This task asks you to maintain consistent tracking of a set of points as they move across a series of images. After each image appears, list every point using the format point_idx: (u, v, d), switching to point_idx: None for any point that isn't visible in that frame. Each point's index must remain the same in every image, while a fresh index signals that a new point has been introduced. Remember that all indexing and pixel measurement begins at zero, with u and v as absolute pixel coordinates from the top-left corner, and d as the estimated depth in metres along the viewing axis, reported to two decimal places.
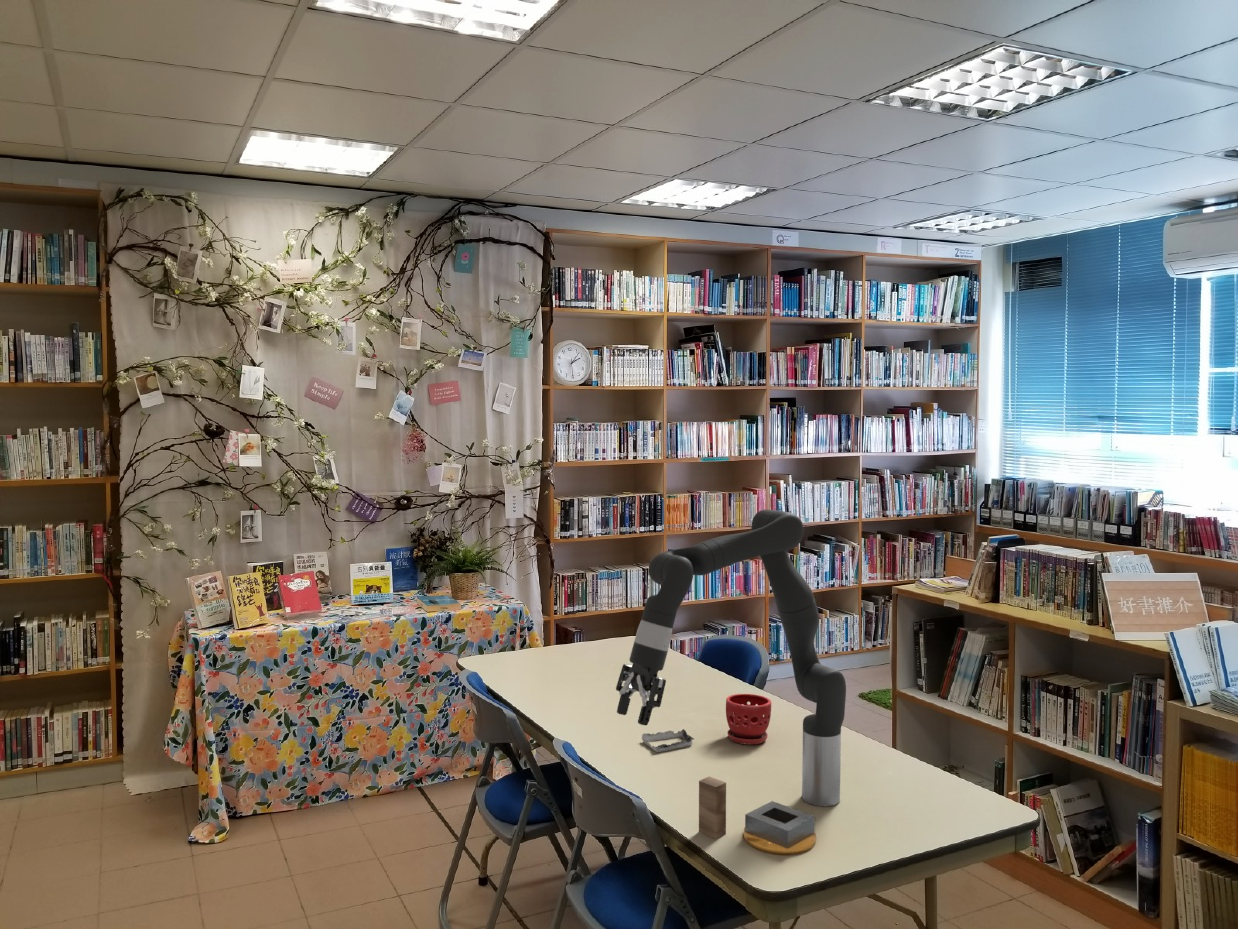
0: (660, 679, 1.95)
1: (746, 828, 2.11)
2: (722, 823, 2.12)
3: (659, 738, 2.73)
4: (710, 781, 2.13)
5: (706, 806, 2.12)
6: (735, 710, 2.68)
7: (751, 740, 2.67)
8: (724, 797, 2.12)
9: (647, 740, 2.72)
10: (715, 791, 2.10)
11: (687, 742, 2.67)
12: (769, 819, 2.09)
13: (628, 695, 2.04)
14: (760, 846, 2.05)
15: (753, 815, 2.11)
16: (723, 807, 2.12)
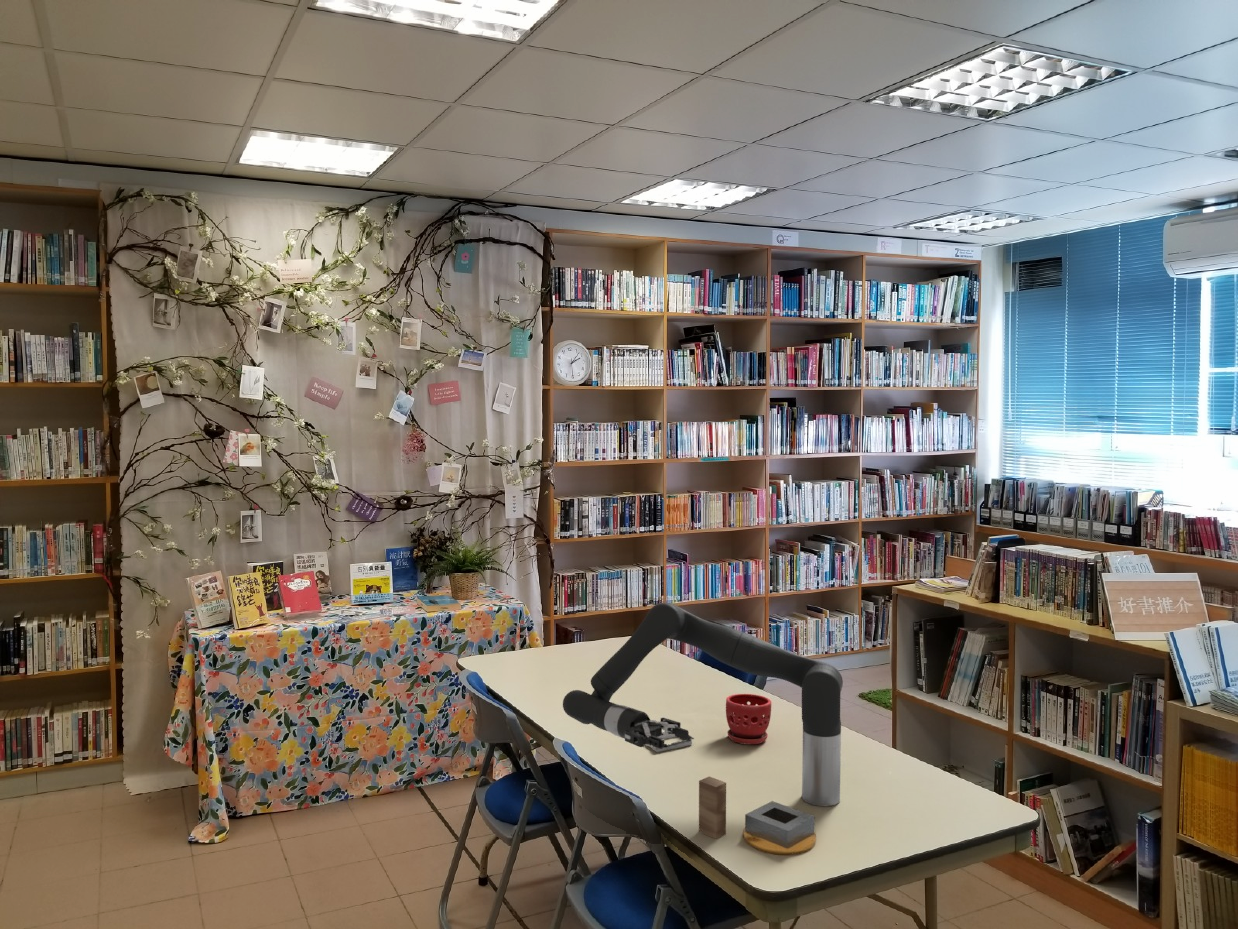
0: (624, 736, 2.23)
1: (746, 828, 2.11)
2: (722, 823, 2.12)
3: None
4: (710, 781, 2.13)
5: (706, 806, 2.12)
6: (735, 710, 2.68)
7: (751, 740, 2.67)
8: (724, 797, 2.12)
9: None
10: (715, 791, 2.10)
11: (687, 742, 2.68)
12: (769, 819, 2.09)
13: (673, 729, 2.26)
14: (760, 846, 2.05)
15: (753, 815, 2.11)
16: (723, 807, 2.12)
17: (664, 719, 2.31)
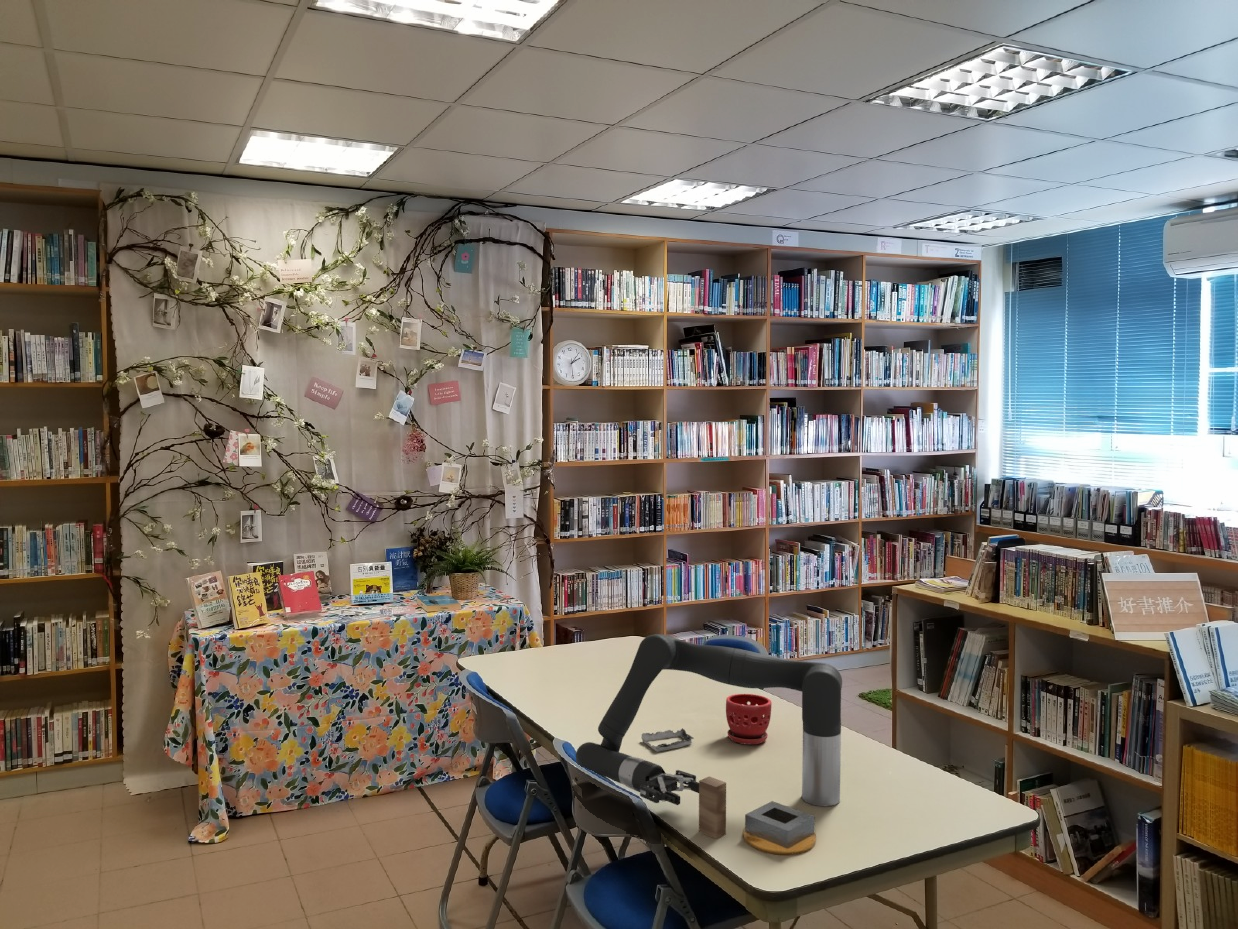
0: (640, 791, 2.20)
1: (746, 828, 2.11)
2: (722, 823, 2.12)
3: (659, 737, 2.73)
4: (710, 781, 2.13)
5: (706, 806, 2.12)
6: (735, 710, 2.68)
7: (751, 740, 2.67)
8: (724, 797, 2.12)
9: (647, 740, 2.72)
10: (715, 791, 2.10)
11: (687, 741, 2.68)
12: (769, 819, 2.09)
13: (689, 783, 2.24)
14: (760, 846, 2.05)
15: (753, 815, 2.11)
16: (723, 807, 2.12)
17: (679, 772, 2.28)
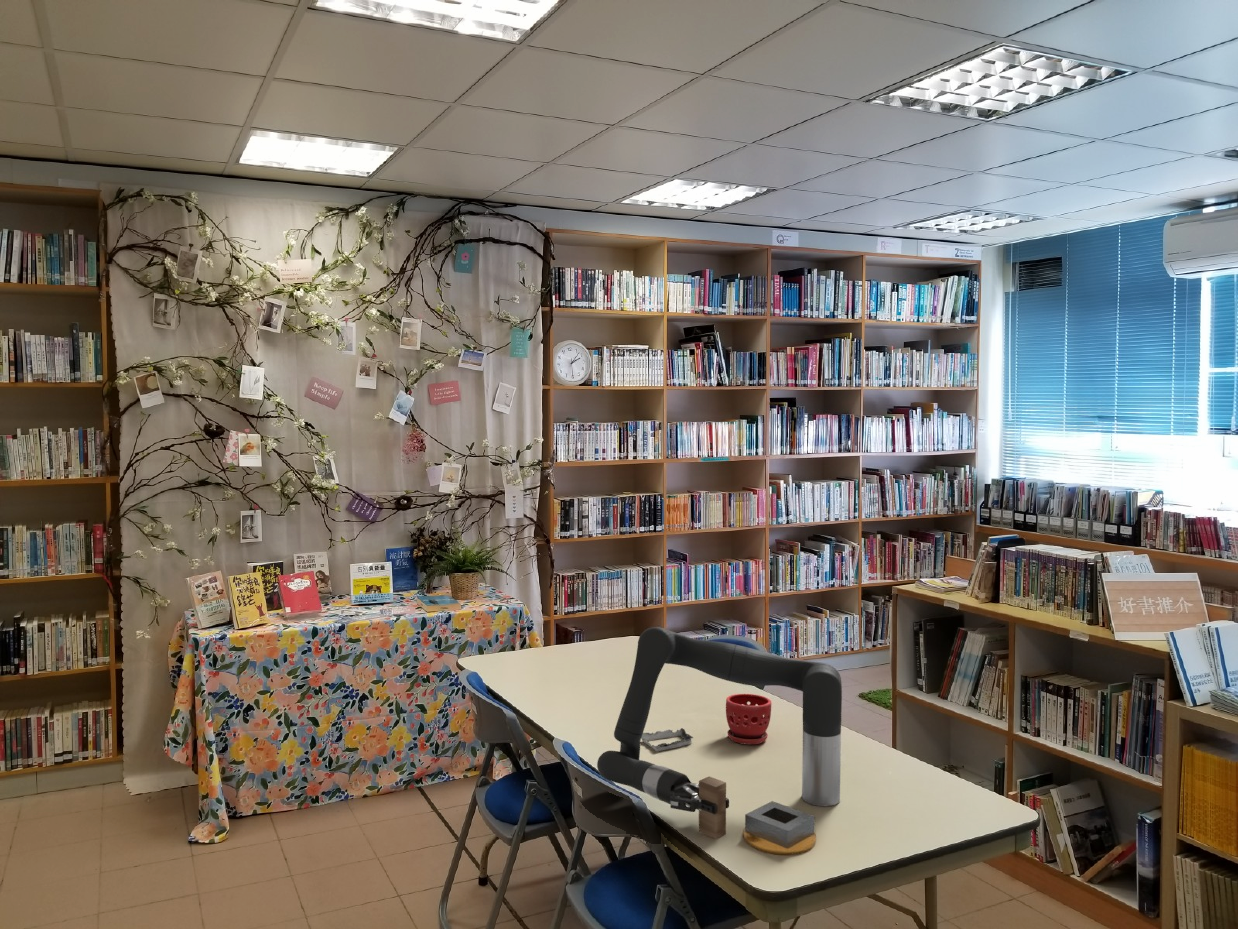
0: (670, 803, 2.13)
1: (746, 828, 2.11)
2: (721, 823, 2.12)
3: (658, 737, 2.74)
4: (710, 781, 2.13)
5: None
6: (735, 710, 2.68)
7: (751, 740, 2.67)
8: (724, 797, 2.12)
9: (646, 739, 2.72)
10: (715, 791, 2.10)
11: (686, 741, 2.68)
12: (769, 819, 2.09)
13: None
14: (760, 846, 2.05)
15: (753, 815, 2.11)
16: (723, 807, 2.12)
17: None
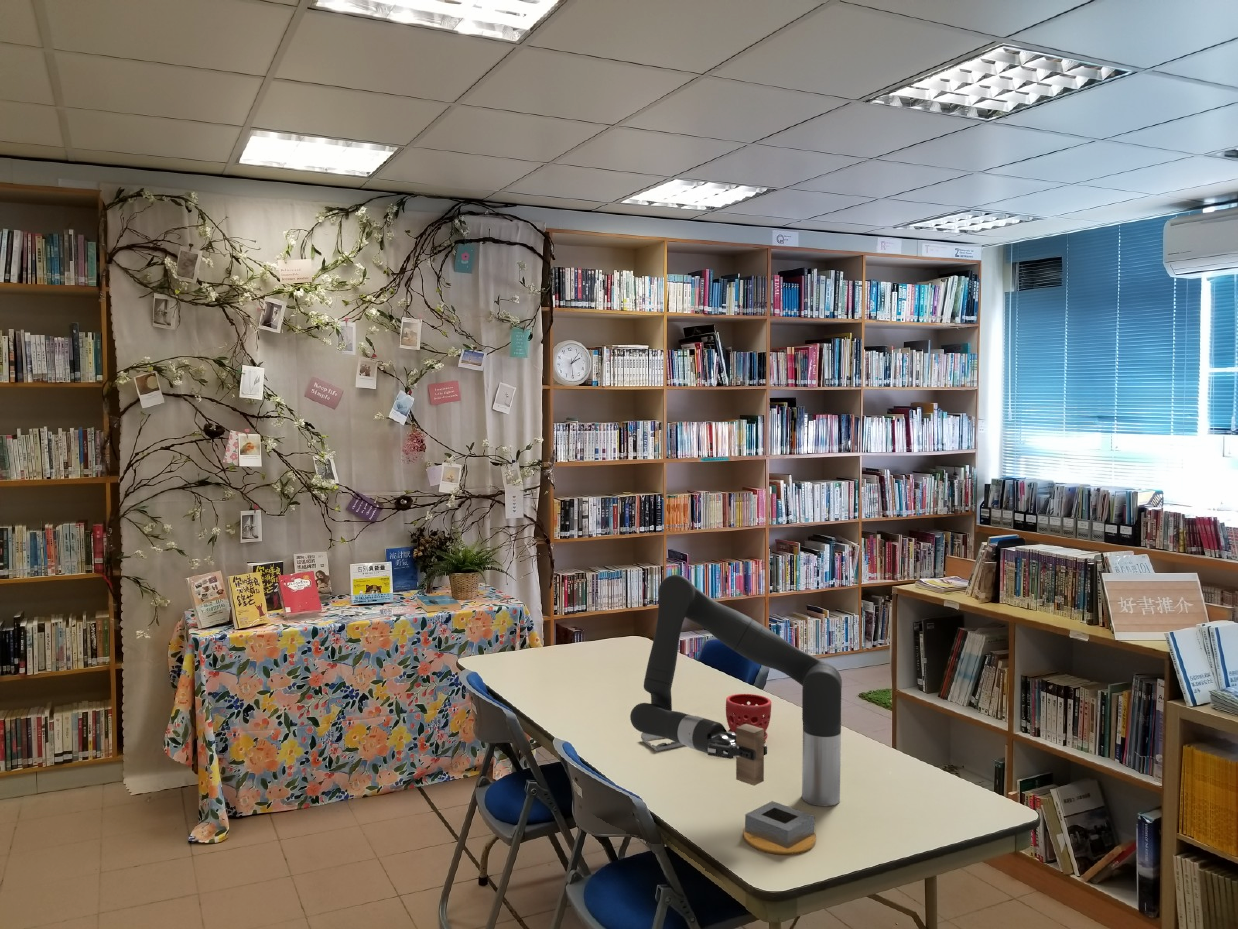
0: (708, 750, 2.11)
1: (746, 828, 2.11)
2: (760, 770, 2.10)
3: (658, 737, 2.74)
4: (748, 728, 2.11)
5: None
6: (735, 710, 2.68)
7: None
8: (762, 743, 2.10)
9: (646, 739, 2.72)
10: (753, 737, 2.08)
11: None
12: (769, 819, 2.09)
13: None
14: (760, 846, 2.05)
15: (753, 815, 2.11)
16: (761, 754, 2.10)
17: None
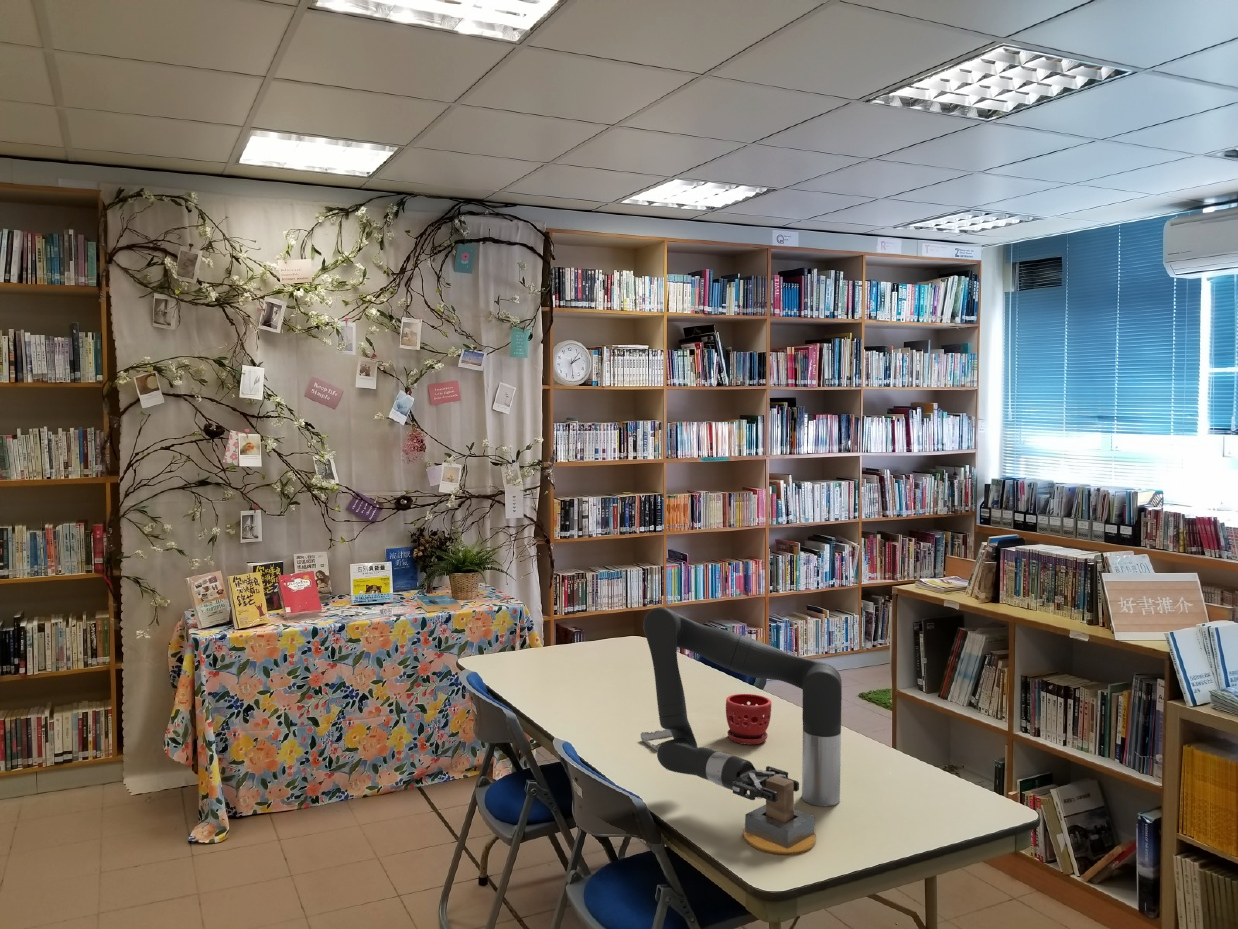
0: (732, 788, 2.12)
1: (746, 828, 2.11)
2: None
3: (658, 736, 2.74)
4: (777, 780, 2.10)
5: (773, 805, 2.10)
6: (735, 710, 2.68)
7: (751, 740, 2.67)
8: (792, 796, 2.10)
9: (646, 739, 2.73)
10: (783, 790, 2.08)
11: None
12: (769, 819, 2.09)
13: None
14: (760, 846, 2.05)
15: (753, 815, 2.11)
16: (791, 806, 2.10)
17: (770, 768, 2.20)
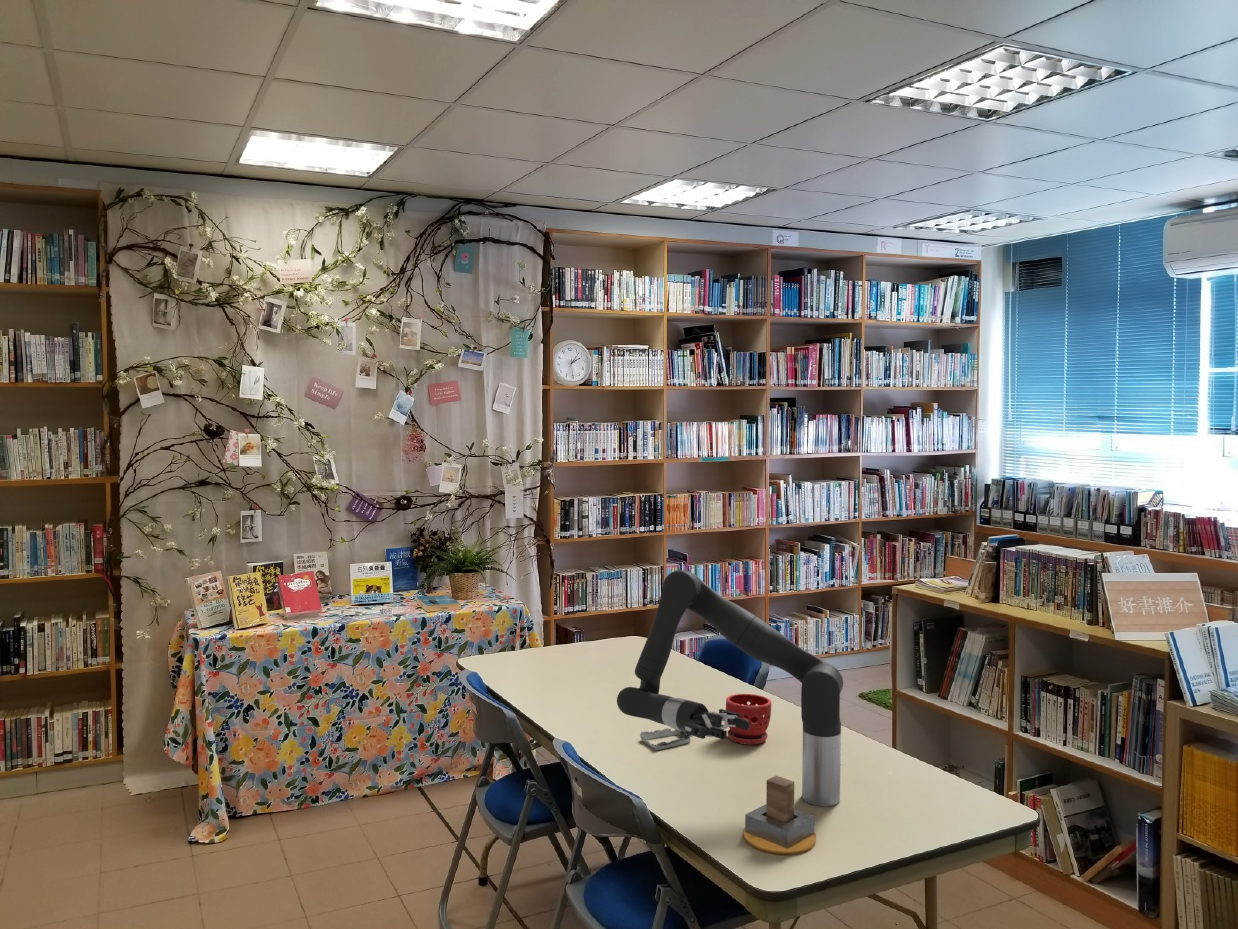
0: (685, 728, 2.20)
1: (746, 828, 2.11)
2: None
3: (657, 736, 2.75)
4: (778, 780, 2.10)
5: (774, 805, 2.10)
6: (735, 710, 2.68)
7: (751, 740, 2.67)
8: (792, 796, 2.10)
9: (645, 738, 2.73)
10: (784, 790, 2.08)
11: (685, 739, 2.70)
12: (769, 819, 2.09)
13: (733, 720, 2.24)
14: (760, 846, 2.05)
15: (753, 815, 2.11)
16: (792, 807, 2.10)
17: (723, 710, 2.28)
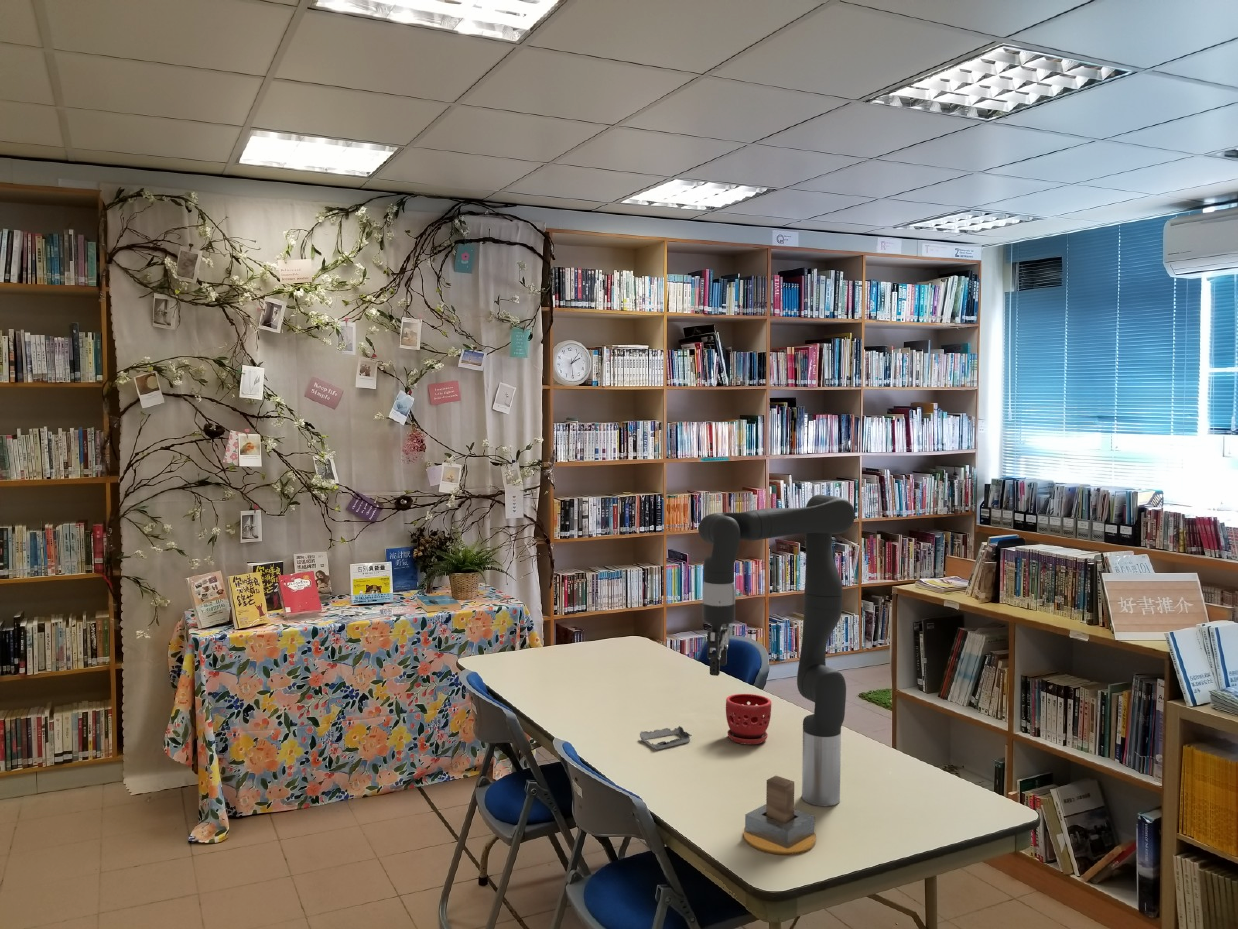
0: (712, 633, 2.10)
1: (746, 828, 2.11)
2: None
3: (657, 735, 2.75)
4: (778, 780, 2.10)
5: (774, 805, 2.10)
6: (735, 710, 2.68)
7: (751, 740, 2.67)
8: (792, 796, 2.10)
9: (645, 738, 2.73)
10: (784, 790, 2.08)
11: (685, 739, 2.70)
12: (769, 819, 2.09)
13: (723, 647, 2.21)
14: (760, 846, 2.05)
15: (753, 815, 2.11)
16: (792, 807, 2.10)
17: (728, 626, 2.22)
